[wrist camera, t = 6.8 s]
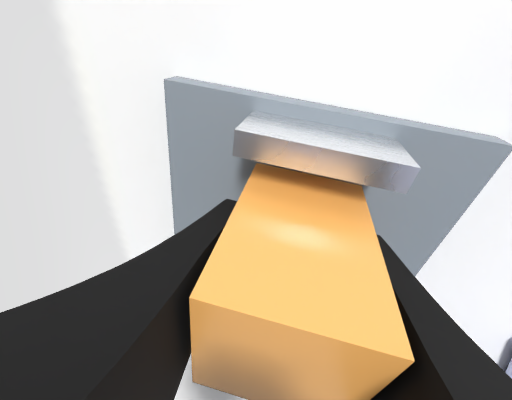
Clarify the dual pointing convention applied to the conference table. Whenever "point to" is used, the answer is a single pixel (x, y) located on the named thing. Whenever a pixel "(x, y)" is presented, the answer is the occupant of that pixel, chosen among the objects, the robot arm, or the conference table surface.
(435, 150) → the board
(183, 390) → the conference table surface
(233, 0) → the conference table surface
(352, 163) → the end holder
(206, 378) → the block
